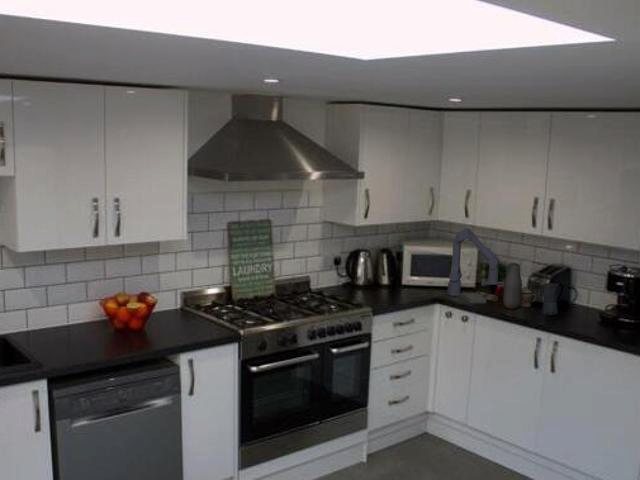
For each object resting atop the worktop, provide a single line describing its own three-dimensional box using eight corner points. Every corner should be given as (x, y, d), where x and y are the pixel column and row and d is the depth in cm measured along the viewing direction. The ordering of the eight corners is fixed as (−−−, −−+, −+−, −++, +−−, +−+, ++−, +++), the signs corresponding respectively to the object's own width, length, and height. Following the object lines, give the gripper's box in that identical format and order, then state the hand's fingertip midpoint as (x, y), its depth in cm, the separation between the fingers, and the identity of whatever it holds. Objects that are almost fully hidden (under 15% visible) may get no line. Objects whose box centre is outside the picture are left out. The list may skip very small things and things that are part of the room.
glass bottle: (512, 306, 411) (515, 261, 407) (523, 310, 401) (526, 264, 397) (499, 307, 407) (502, 261, 403) (509, 311, 398) (512, 264, 394)
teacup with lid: (518, 307, 409) (520, 288, 407) (514, 303, 418) (515, 285, 416) (538, 307, 409) (539, 288, 408) (533, 303, 418) (534, 285, 417)
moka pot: (534, 312, 396) (536, 279, 394) (555, 310, 402) (557, 278, 399) (544, 316, 388) (547, 282, 385) (566, 314, 393) (568, 281, 390)
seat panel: (461, 296, 433) (461, 292, 433) (475, 296, 434) (476, 292, 434) (470, 303, 415) (470, 299, 415) (486, 303, 417) (486, 299, 416)
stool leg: (475, 296, 434) (475, 291, 434) (479, 295, 436) (479, 291, 436) (494, 301, 422) (494, 296, 421) (497, 300, 423) (497, 296, 423)
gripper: (484, 276, 421) (483, 297, 423) (506, 276, 423) (505, 297, 425) (480, 274, 428) (479, 295, 430) (502, 274, 430) (501, 295, 432)
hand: (492, 296), depth 428 cm, fingers closed, pressing on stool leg
